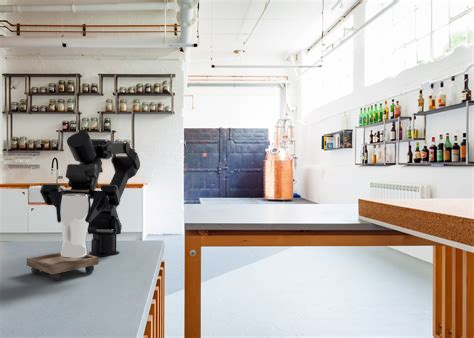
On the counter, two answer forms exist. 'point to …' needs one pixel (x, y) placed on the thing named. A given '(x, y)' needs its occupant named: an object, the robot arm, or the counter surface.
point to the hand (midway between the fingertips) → (73, 221)
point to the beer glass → (74, 224)
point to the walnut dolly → (60, 264)
